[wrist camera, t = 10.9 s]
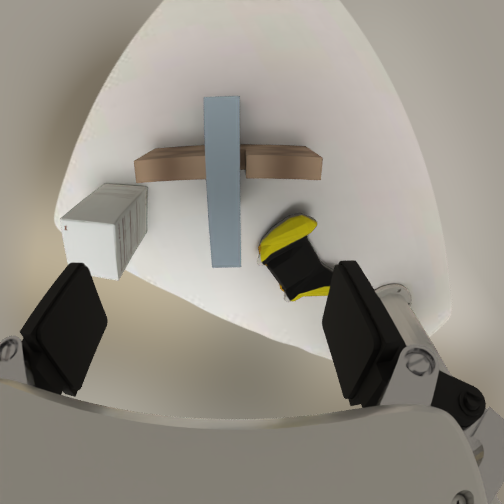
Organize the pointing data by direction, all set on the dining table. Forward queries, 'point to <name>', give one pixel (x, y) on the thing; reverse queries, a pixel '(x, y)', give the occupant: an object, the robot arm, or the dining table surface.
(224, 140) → the slate slotted plate
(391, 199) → the dining table surface
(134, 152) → the dining table surface
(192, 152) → the walnut slotted plate
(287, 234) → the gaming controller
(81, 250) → the supplement box
